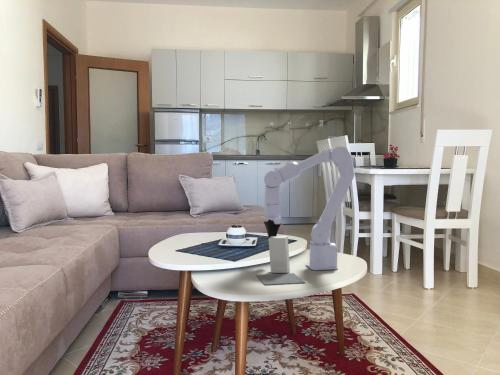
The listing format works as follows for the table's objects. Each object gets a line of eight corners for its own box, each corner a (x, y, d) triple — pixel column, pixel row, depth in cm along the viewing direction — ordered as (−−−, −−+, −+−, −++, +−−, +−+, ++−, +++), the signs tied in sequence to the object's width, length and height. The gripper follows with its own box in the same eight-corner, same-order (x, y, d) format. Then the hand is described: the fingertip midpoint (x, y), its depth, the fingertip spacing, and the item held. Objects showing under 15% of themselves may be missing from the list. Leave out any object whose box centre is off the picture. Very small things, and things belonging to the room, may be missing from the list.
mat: (293, 274, 141) (293, 273, 141) (304, 283, 130) (304, 282, 130) (256, 275, 138) (256, 274, 138) (264, 285, 128) (264, 284, 128)
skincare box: (290, 270, 144) (288, 235, 144) (287, 273, 140) (286, 237, 140) (273, 270, 146) (271, 235, 146) (269, 273, 142) (268, 237, 141)
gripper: (257, 202, 159) (257, 237, 159) (266, 206, 144) (266, 245, 145) (275, 202, 160) (274, 237, 161) (286, 205, 146) (285, 244, 147)
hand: (272, 241), depth 153 cm, fingers closed
